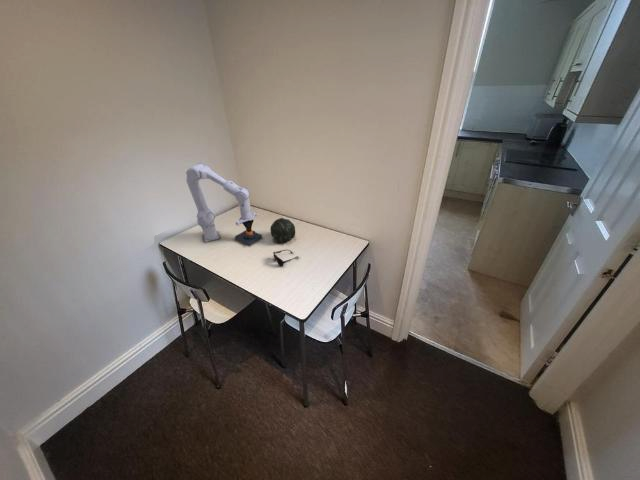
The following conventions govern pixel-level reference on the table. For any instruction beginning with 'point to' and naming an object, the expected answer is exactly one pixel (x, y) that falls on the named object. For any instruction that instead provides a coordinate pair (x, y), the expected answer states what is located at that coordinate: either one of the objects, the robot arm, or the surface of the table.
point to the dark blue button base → (248, 238)
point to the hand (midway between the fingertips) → (249, 231)
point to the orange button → (249, 232)
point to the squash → (282, 230)
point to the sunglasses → (280, 259)
